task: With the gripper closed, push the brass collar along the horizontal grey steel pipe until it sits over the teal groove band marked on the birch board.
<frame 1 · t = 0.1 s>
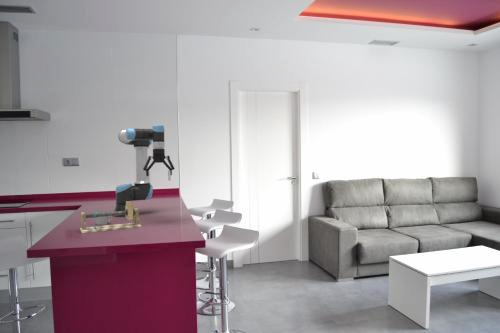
hand: (159, 180, 252), 28 cm above the countertop, fingers open, 13 cm apart
rail: (111, 228, 236), on the countertop
collar: (129, 210, 241), point 11 cm above the countertop, slide at 0.0 cm
cup: (104, 224, 252), on the countertop
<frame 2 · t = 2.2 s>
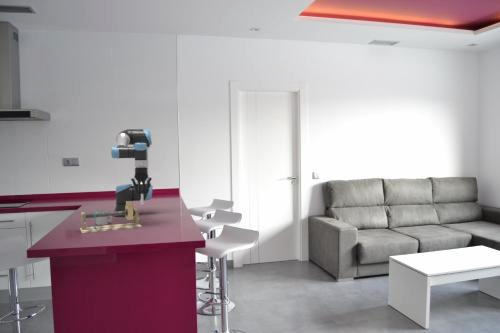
hand: (141, 204, 244), 14 cm above the countertop, fingers closed
nothing on the countertop moved.
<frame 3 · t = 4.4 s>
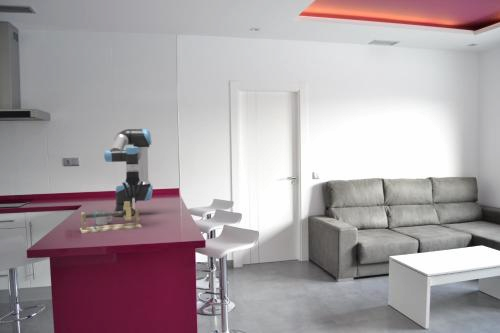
hand: (133, 208, 242), 11 cm above the countertop, fingers closed
collar: (127, 210, 240), point 10 cm above the countertop, slide at 1.1 cm, touching gripper
everything else where it was.
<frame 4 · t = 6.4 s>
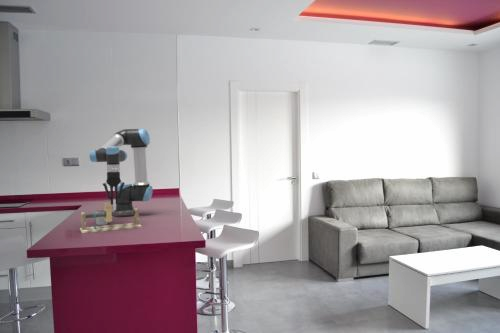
hand: (114, 209, 236), 11 cm above the countertop, fingers closed
collar: (107, 211, 234), point 10 cm above the countertop, slide at 12.6 cm, touching gripper
everything else where it was.
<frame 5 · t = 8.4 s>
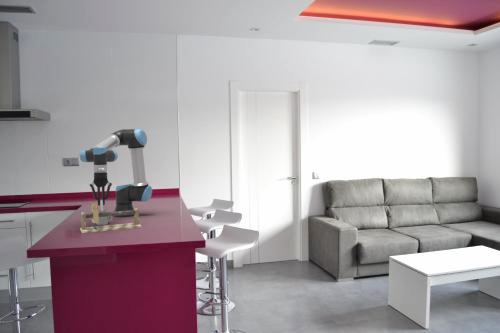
hand: (101, 210, 233), 11 cm above the countertop, fingers closed
collar: (94, 212, 231), point 11 cm above the countertop, slide at 20.1 cm, touching gripper
everything else where it was.
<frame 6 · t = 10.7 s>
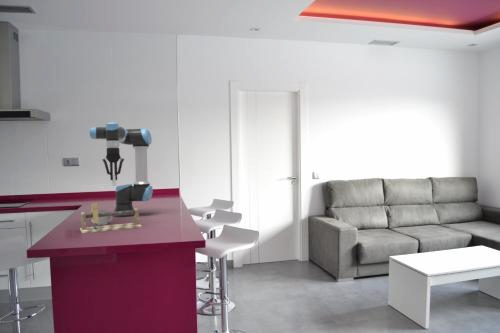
hand: (114, 185, 239), 26 cm above the countertop, fingers closed
collar: (94, 212, 231), point 11 cm above the countertop, slide at 20.2 cm
everything else where it was.
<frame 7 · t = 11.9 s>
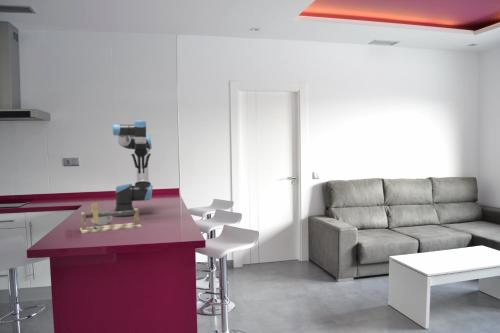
hand: (141, 178, 260), 29 cm above the countertop, fingers closed
nothing on the countertop moved.
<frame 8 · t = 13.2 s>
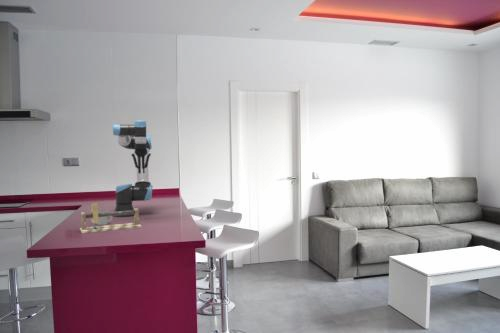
hand: (141, 178, 260), 29 cm above the countertop, fingers closed
nothing on the countertop moved.
at the end: collar slide at 20.2 cm; collar 0.2 cm from the target spot, resting on rail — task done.
